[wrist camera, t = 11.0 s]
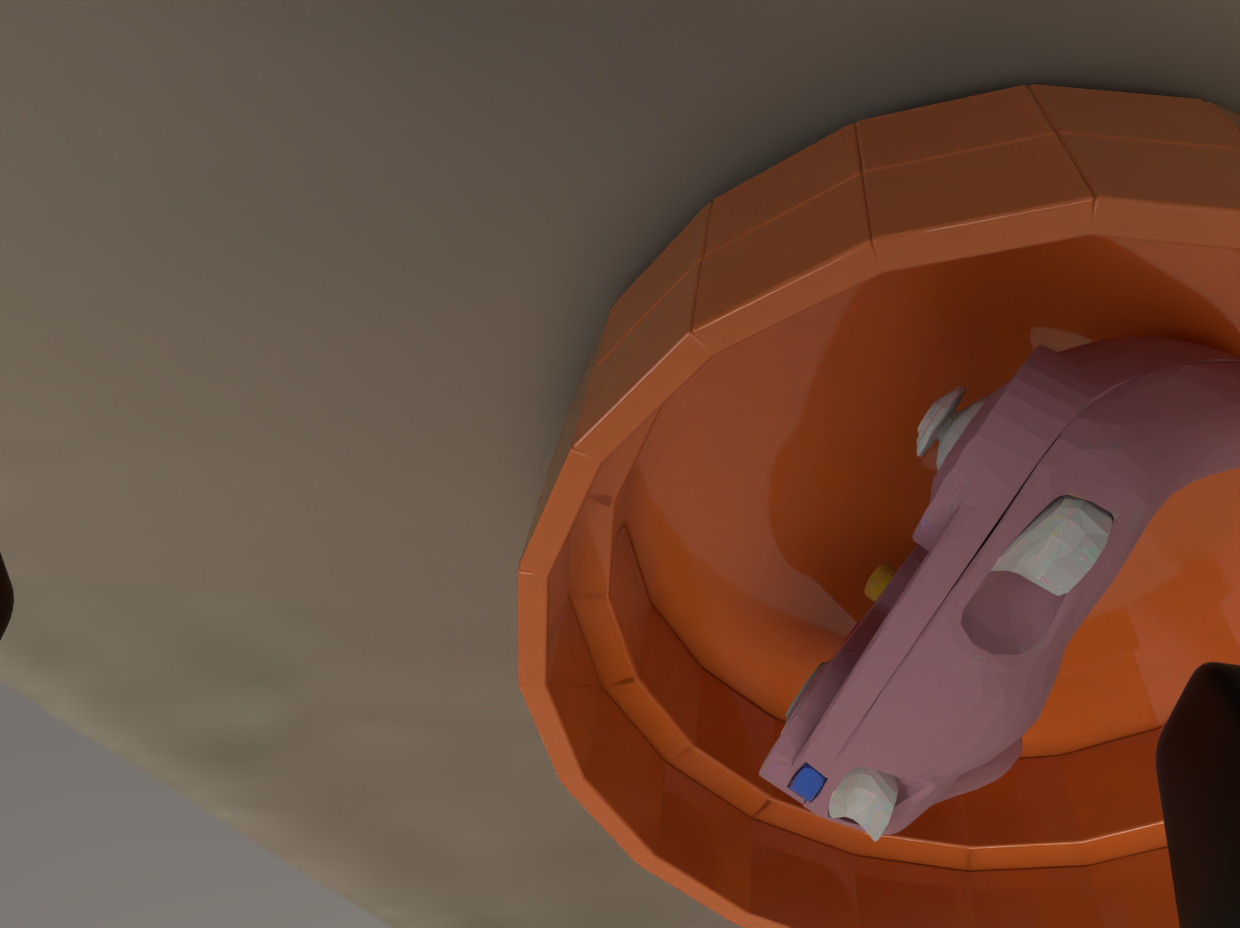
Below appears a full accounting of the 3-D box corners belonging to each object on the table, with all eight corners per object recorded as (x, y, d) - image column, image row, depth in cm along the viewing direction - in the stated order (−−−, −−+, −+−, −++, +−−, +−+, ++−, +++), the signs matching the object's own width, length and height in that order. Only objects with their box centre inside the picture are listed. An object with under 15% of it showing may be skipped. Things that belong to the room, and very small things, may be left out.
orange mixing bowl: (559, 728, 26) (517, 916, 22) (581, 33, 17) (516, 139, 13) (1248, 821, 25) (1336, 1038, 21) (1673, 130, 16) (1975, 281, 12)
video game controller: (1067, 237, 19) (936, 356, 14) (1325, 374, 18) (1292, 565, 12) (831, 623, 25) (674, 813, 19) (1013, 748, 23) (898, 989, 18)
